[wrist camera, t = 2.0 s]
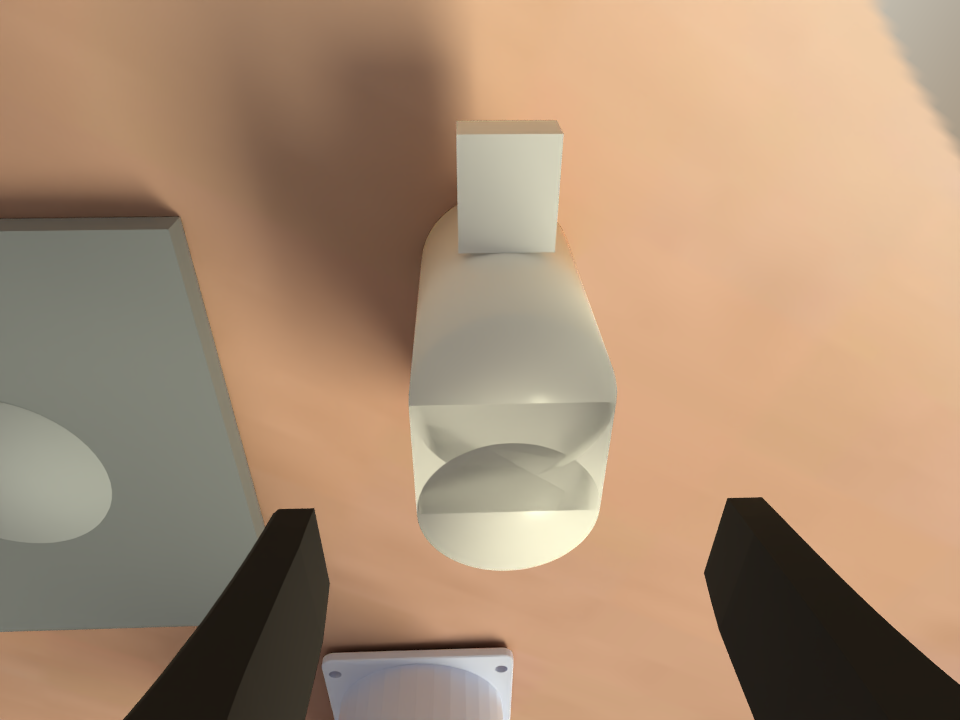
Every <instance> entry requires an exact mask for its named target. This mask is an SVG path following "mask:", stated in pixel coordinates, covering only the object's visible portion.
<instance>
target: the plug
mask: <svg viewBox="0 0 960 720" xmlns="http://www.w3.org/2000/svg"><path fill="white" fill-rule="evenodd" d="M563 135H564V134H563V132H562V130H561V128H560V126H559V124H558V122H557V120H498V121H456V147H457V203H458V205H456V206H455V207H453V208H452V209H450V210H449V211H448V212H446V213H445V214H444V215H443V216H442V217H441V218H440V219H439V220H438V221H437V222H436V224H435V225H434V227H433V228H432V230H431V231H430V233H429V235H428V237H427V239H426V242H425V245H424V248H423V253H422V260H421V271H420V281H419V292H418V303H417V313H416V324H415V335H414V345H413V356H412V366H411V377H410V388H409V416H410V429H411V442H412V455H413V468H414V481H415V494H416V508H417V517H418V523H419V525H420V528H421V530H422V532H423V534H424V536H425V537H426V539H427V540H428V541H429V542H430V544H431V545H432V546H434V547H435V548H436V549H437V550H438V551H439V552H441V553H442V554H444V555H445V556H447V557H449V558H451V559H452V560H454V561H457V562H459V563H462V564H464V565H468V566H471V567H475V568H480V569H486V570H501V571H507V570H519V569H526V568H531V567H535V566H539V565H542V564H545V563H548V562H551V561H553V560H555V559H557V558H559V557H561V556H563V555H565V554H566V553H568V552H570V551H571V550H572V549H574V548H575V547H576V546H578V545H579V544H580V543H581V542H582V541H583V540H584V539H585V538H586V537H587V535H588V534H589V533H590V531H591V530H592V528H593V527H594V525H595V522H596V520H597V518H598V514H599V510H600V503H601V497H602V491H603V484H604V478H605V471H606V465H607V458H608V452H609V445H610V439H611V432H612V426H613V419H614V413H615V406H616V397H617V386H616V379H615V375H614V371H613V368H612V365H611V362H610V360H609V357H608V354H607V351H606V348H605V346H604V343H603V340H602V337H601V334H600V332H599V329H598V326H597V323H596V320H595V318H594V315H593V312H592V309H591V306H590V303H589V301H588V298H587V295H586V292H585V289H584V287H583V284H582V281H581V278H580V275H579V273H578V270H577V267H576V264H575V261H574V259H573V256H572V253H571V250H570V247H569V245H568V242H567V239H566V237H565V234H564V232H563V230H562V228H561V227H560V225H559V224H558V222H557V216H558V203H559V189H560V176H561V162H562V149H563Z"/></svg>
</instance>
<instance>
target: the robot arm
mask: <svg viewBox="0 0 960 720" xmlns="http://www.w3.org/2000/svg"><path fill="white" fill-rule="evenodd" d="M704 575H705V579H706V583H707V587H708V591H709V595H710V598H711V602H712V606H713V610H714V613H715V617H716V620H717V624H718V628H719V631H720V633H721V636H722V639H723V641H724V644H725V646H726V649H727V652H728V654H729V657H730V659H731V662H732V664H733V667H734V669H735V672H736V674H737V677H738V679H739V682H740V684H741V687H742V689H743V692H744V694H745V697H746V699H747V702H748V704H749V707H750V709H751V712H752V714H753V717H754V719H755V720H960V685H959V684H958V683H957V682H956V681H955V680H953V679H952V678H951V677H950V676H949V675H947V674H946V673H945V672H944V671H943V670H941V669H940V668H939V667H938V666H937V665H935V664H934V663H933V662H932V661H931V660H930V659H928V658H927V657H926V656H925V655H924V654H923V653H922V652H921V651H919V650H918V649H917V648H916V647H915V646H914V645H913V644H912V643H910V642H909V641H908V640H907V639H906V638H905V637H904V636H902V635H901V634H900V633H899V632H898V631H897V630H896V629H895V628H893V627H892V626H891V625H890V624H889V623H888V622H887V621H886V620H885V619H884V618H883V617H882V616H881V615H879V614H878V613H877V612H876V611H875V610H874V609H873V608H872V607H871V606H870V605H869V604H868V603H867V602H866V601H865V600H864V599H863V598H862V597H860V596H859V595H858V594H857V593H856V592H855V591H854V590H853V589H852V588H851V587H850V586H849V585H848V584H847V583H846V582H845V581H844V580H843V579H842V578H841V577H840V576H839V575H838V574H837V573H836V572H835V571H834V570H833V569H832V568H831V567H830V566H829V565H828V564H827V563H826V562H825V561H824V560H823V559H822V558H821V557H820V556H819V555H818V554H817V553H816V552H815V551H814V550H813V549H812V548H811V547H810V546H809V545H808V544H807V543H806V542H805V541H804V540H803V539H802V538H801V537H800V536H799V535H798V534H797V533H796V532H795V531H794V530H793V529H792V528H791V527H790V526H789V525H788V523H787V522H786V521H785V520H784V519H783V518H782V517H781V516H780V515H779V514H778V513H777V512H776V511H775V510H774V509H773V508H772V507H771V506H770V505H769V504H768V503H767V502H766V501H765V500H764V499H763V498H762V497H758V498H727V501H726V505H725V508H724V511H723V514H722V517H721V521H720V524H719V527H718V530H717V533H716V536H715V540H714V543H713V546H712V549H711V552H710V556H709V559H708V562H707V565H706V568H705V571H704ZM329 585H330V583H329V578H328V573H327V568H326V563H325V558H324V554H323V549H322V544H321V539H320V534H319V529H318V525H317V520H316V515H315V510H314V508H310V509H278V510H277V511H276V512H275V513H274V514H273V515H272V517H271V518H270V520H269V522H268V523H267V525H266V527H265V528H264V530H263V532H262V533H261V535H260V536H259V538H258V540H257V541H256V543H255V544H254V546H253V548H252V549H251V551H250V552H249V554H248V555H247V557H246V558H245V560H244V561H243V563H242V564H241V566H240V567H239V569H238V570H237V572H236V573H235V575H234V577H233V578H232V580H231V581H230V582H229V584H228V585H227V587H226V588H225V590H224V591H223V592H222V594H221V595H220V597H219V598H218V599H217V601H216V602H215V604H214V605H213V607H212V608H211V609H210V611H209V612H208V614H207V615H206V616H205V618H204V619H203V621H202V622H201V623H200V625H199V626H198V627H197V629H196V630H195V631H194V633H193V634H192V635H191V637H190V638H189V639H188V640H187V642H186V643H185V644H184V646H183V647H182V648H181V649H180V651H179V652H178V653H177V655H176V656H175V657H174V658H173V660H172V661H171V662H170V664H169V665H168V666H167V667H166V669H165V670H164V671H163V673H162V674H161V675H160V676H159V678H158V679H157V680H156V681H155V683H154V684H153V685H152V686H151V687H150V689H149V690H148V691H147V692H146V693H145V695H144V696H143V697H142V698H141V699H140V701H139V702H138V703H137V704H136V705H135V706H134V708H133V709H132V710H131V711H130V712H129V713H128V715H127V716H126V717H125V718H124V719H123V720H305V717H306V713H307V708H308V704H309V700H310V696H311V691H312V687H313V683H314V678H315V674H316V669H317V665H318V661H319V656H320V652H321V647H322V643H323V635H324V628H325V620H326V612H327V603H328V594H329ZM322 670H323V675H324V679H325V683H326V687H327V691H328V695H329V699H330V703H331V707H332V711H333V715H334V720H510V713H511V695H512V677H513V653H512V651H511V650H509V649H507V648H502V647H500V648H469V649H438V650H406V651H375V652H343V653H329V654H327V655H325V656H324V657H323V662H322Z"/></svg>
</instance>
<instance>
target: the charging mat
mask: <svg viewBox="0 0 960 720" xmlns="http://www.w3.org/2000/svg"><path fill="white" fill-rule="evenodd" d="M264 528H265V526H264V522H263V518H262V515H261V511H260V507H259V504H258V500H257V496H256V493H255V489H254V485H253V482H252V478H251V474H250V471H249V467H248V463H247V460H246V456H245V452H244V449H243V445H242V442H241V438H240V434H239V431H238V427H237V423H236V420H235V416H234V412H233V409H232V405H231V401H230V398H229V394H228V390H227V387H226V383H225V379H224V376H223V372H222V368H221V365H220V361H219V357H218V354H217V350H216V346H215V343H214V339H213V336H212V332H211V328H210V325H209V321H208V317H207V314H206V310H205V306H204V303H203V299H202V295H201V292H200V288H199V284H198V281H197V277H196V273H195V270H194V266H193V262H192V259H191V255H190V251H189V248H188V244H187V241H186V237H185V233H184V230H183V226H182V222H181V219H180V217H113V218H22V219H0V632H12V631H45V630H78V629H111V628H144V627H177V626H199V625H200V623H201V622H202V621H203V619H204V618H205V616H206V615H207V614H208V612H209V611H210V609H211V608H212V607H213V605H214V604H215V602H216V601H217V599H218V598H219V597H220V595H221V594H222V592H223V591H224V590H225V588H226V587H227V585H228V584H229V582H230V581H231V580H232V578H233V577H234V575H235V573H236V572H237V570H238V569H239V567H240V566H241V564H242V563H243V561H244V560H245V558H246V557H247V555H248V554H249V552H250V551H251V549H252V548H253V546H254V544H255V543H256V541H257V540H258V538H259V536H260V535H261V533H262V532H263V530H264Z"/></svg>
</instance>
